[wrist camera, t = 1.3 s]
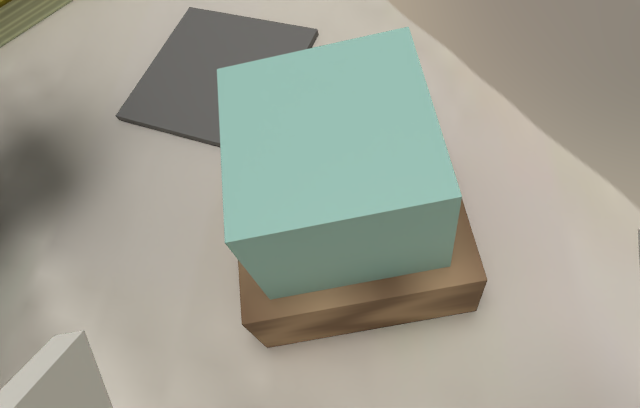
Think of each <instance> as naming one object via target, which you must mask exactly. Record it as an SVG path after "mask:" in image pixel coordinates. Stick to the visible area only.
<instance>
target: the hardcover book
mask: <svg viewBox="0 0 640 408" xmlns="http://www.w3.org/2000/svg"><path fill="white" fill-rule="evenodd" d="M71 1H73V0H0V47H2V46H3V45H5V44H6V43H8V42H9V41H11V40H12V39H14V38H16V37H17V36H19V35H20V34H22V33H23V32H25V31H26V30H28V29H29V28H31V27H33V26H34V25H36V24H37V23H39V22H40V21H42V20H43V19H45V18H46V17H48V16H50V15H51V14H53V13H54V12H56V11H57V10H59V9H60V8H62V7H63V6H65V5H67V4H68V3H70V2H71Z"/></svg>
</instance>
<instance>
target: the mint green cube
mask: <svg viewBox="0 0 640 408" xmlns="http://www.w3.org/2000/svg"><path fill="white" fill-rule="evenodd" d="M217 84H218V105H219V127H220V148H221V169H222V191H223V212H224V233H225V244H226V245H227V246H228V247H229V249H230V250H231V251H232V252H233V254H234V255H235V256H236V257H237V259H238V260H239V261H240V263H241V264H242V265H243V266H244V268H245V269H246V270H247V271H248V273H249V274H250V275H251V276H252V278H253V279H254V280H255V282H256V283H257V284H258V285H259V287H260V288H261V289H262V290H263V292H264V293H265V294H266V295H267V297H268V298H269V299H270V300H271V299H277V298H282V297H287V296H293V295H298V294H304V293H309V292H314V291H320V290H325V289H331V288H336V287H342V286H347V285H352V284H358V283H363V282H369V281H374V280H379V279H385V278H390V277H396V276H401V275H407V274H412V273H417V272H423V271H428V270H434V269H439V268H444V267H450V265H451V259H452V253H453V247H454V241H455V235H456V229H457V223H458V217H459V212H460V206H461V200H462V195H461V192H460V189H459V186H458V183H457V179H456V176H455V173H454V170H453V167H452V163H451V160H450V157H449V154H448V151H447V147H446V144H445V141H444V138H443V135H442V132H441V128H440V125H439V122H438V119H437V116H436V112H435V109H434V106H433V103H432V100H431V97H430V93H429V90H428V87H427V84H426V81H425V77H424V74H423V71H422V68H421V65H420V61H419V58H418V55H417V52H416V49H415V46H414V42H413V39H412V36H411V33H410V30H409V27H405V28H400V29H396V30H391V31H387V32H382V33H378V34H373V35H369V36H364V37H360V38H355V39H351V40H346V41H342V42H337V43H333V44H328V45H323V46H319V47H314V48H310V49H305V50H301V51H296V52H292V53H287V54H283V55H278V56H274V57H269V58H265V59H260V60H256V61H251V62H246V63H242V64H237V65H233V66H228V67H224V68H219V69H217Z"/></svg>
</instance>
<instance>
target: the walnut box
mask: <svg viewBox="0 0 640 408" xmlns="http://www.w3.org/2000/svg"><path fill="white" fill-rule="evenodd" d="M238 267H239V284H240V301H241V318H242V325H243V326H244V327H245V328H246V329H247V330H248V331H249V332H251V333H252V334H253V335H254V336H255V337H256V338H257V339H258V340H259V341H260V342H261V343H263V344H264V345H265V346H266V347H267V348H269V347H274V346H280V345H286V344H291V343H297V342H303V341H308V340H314V339H320V338H325V337H331V336H336V335H342V334H348V333H353V332H359V331H365V330H370V329H376V328H381V327H387V326H393V325H398V324H404V323H410V322H415V321H421V320H427V319H432V318H438V317H443V316H449V315H455V314H460V313H466V312H472V311H476V310H477V307H478V304H479V302H480V299H481V296H482V293H483V291H484V288H485V285H486V282H487V277H486V274H485V271H484V268H483V265H482V261H481V258H480V255H479V252H478V249H477V245H476V242H475V239H474V236H473V233H472V229H471V226H470V223H469V220H468V217H467V214H466V210H465V207H464V204H463V201H462V200H461V206H460V212H459V217H458V223H457V229H456V235H455V241H454V247H453V253H452V259H451V265H450V267H444V268H439V269H434V270H428V271H423V272H417V273H412V274H407V275H401V276H396V277H390V278H385V279H379V280H374V281H369V282H363V283H358V284H352V285H347V286H342V287H336V288H331V289H325V290H320V291H314V292H309V293H304V294H298V295H293V296H287V297H282V298H277V299H271V300H270V299H269V298H268V297H267V295H266V294H265V293H264V292H263V290H262V289H261V288H260V287H259V285H258V284H257V283H256V282H255V280H254V279H253V278H252V276H251V275H250V274H249V273H248V271H247V270H246V269H245V268H244V266H243V265H242V264H241V263H240V261H239V260H238Z"/></svg>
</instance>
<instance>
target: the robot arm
mask: <svg viewBox="0 0 640 408" xmlns="http://www.w3.org/2000/svg"><path fill="white" fill-rule="evenodd" d="M638 240H639V263H640V229H638ZM0 408H113V407H112V404H111V401H110V399H109V396H108V393H107V391H106V388H105V385H104V383H103V380H102V377H101V374H100V372H99V369H98V366H97V364H96V361H95V358H94V356H93V353H92V350H91V348H90V345H89V342H88V340H87V337H86V334H85V331H84V330H82V331H76V332H71V333H65V334H60V335H54V336H53V337H52V338H51V339H50V340H49V341H48V342H47V343H46V344H45V345H44V346H43V347H42V348H41V349H40V350H39V352H38V353H37V354H36V355H35V356H34V357H33V358H32V359H31V360H30V361H29V362H28V363H27V364H26V365H25V366H24V367H23V368H22V369H21V370H20V371H19V372H18V373H17V374H16V375H15V376H14V377H13V378H12V379H11V380H10V381H9V382H8V383H7V384H6V385H5V386H4V387H3V388H2V389H1V390H0Z"/></svg>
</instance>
